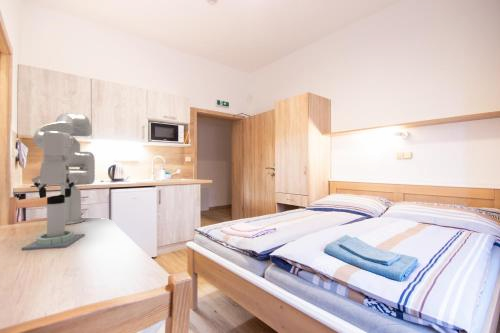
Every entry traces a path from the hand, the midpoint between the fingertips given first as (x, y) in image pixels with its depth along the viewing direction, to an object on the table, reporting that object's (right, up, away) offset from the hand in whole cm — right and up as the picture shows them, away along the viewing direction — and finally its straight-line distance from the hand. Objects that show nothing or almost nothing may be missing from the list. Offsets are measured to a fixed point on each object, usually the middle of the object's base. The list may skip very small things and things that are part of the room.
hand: (55, 197), depth 106 cm
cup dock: (0, -20, 0) cm, 20 cm away
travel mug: (0, -19, 0) cm, 19 cm away
